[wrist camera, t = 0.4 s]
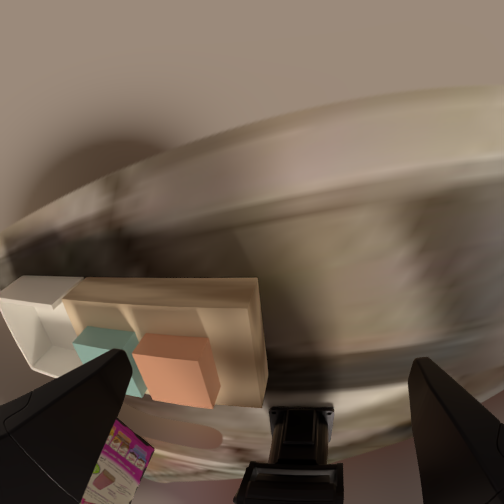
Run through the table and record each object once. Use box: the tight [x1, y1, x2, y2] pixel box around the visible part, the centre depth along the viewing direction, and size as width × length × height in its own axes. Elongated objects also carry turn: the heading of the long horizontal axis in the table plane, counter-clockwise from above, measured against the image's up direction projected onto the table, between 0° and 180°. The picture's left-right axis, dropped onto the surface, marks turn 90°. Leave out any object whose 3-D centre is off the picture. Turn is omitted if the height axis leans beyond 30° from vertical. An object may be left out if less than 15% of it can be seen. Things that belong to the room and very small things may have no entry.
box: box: [0, 275, 84, 378], centre depth 27 cm, size 10×11×5 cm
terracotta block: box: [132, 333, 221, 409], centre depth 21 cm, size 5×5×2 cm
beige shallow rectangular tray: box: [61, 277, 268, 408], centre depth 24 cm, size 10×16×4 cm, turn 96°
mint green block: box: [72, 326, 147, 398], centre depth 22 cm, size 5×5×2 cm
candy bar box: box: [80, 418, 155, 504], centre depth 30 cm, size 11×5×16 cm, turn 32°
